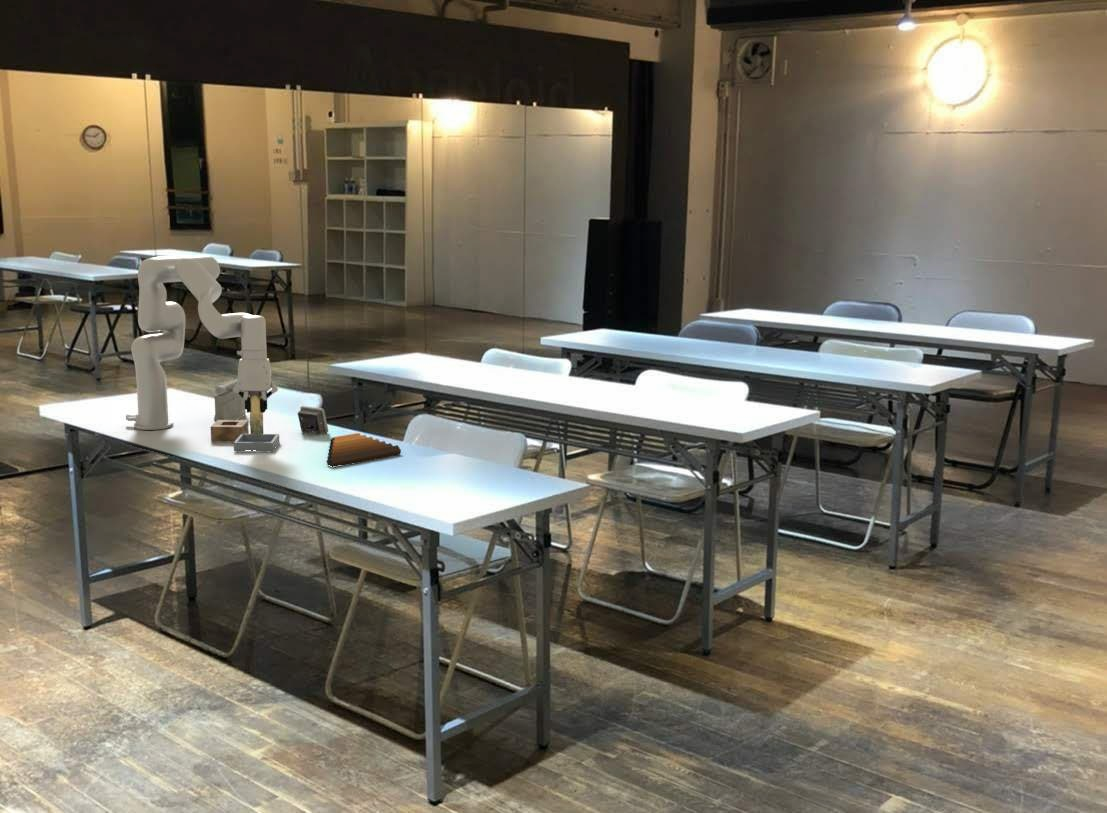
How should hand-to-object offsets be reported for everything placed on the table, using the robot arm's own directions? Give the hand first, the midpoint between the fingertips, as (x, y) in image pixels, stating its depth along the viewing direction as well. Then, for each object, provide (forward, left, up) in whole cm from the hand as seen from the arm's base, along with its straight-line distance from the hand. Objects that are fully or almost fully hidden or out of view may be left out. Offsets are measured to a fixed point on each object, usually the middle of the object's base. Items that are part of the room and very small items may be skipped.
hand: (256, 411), depth 329 cm
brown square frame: (-11, +12, -12) cm, 20 cm away
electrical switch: (+15, +20, -12) cm, 28 cm away
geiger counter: (-16, +36, -12) cm, 42 cm away
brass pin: (0, 0, -7) cm, 7 cm away
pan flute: (+29, -7, -13) cm, 32 cm away
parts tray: (0, 0, -12) cm, 12 cm away
